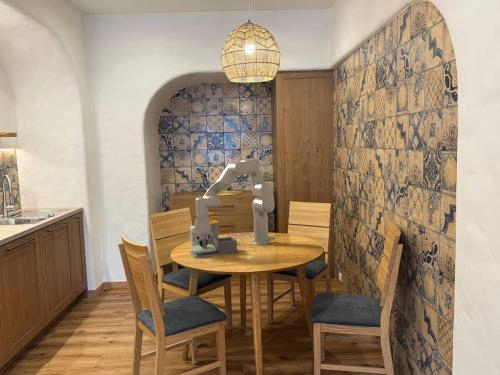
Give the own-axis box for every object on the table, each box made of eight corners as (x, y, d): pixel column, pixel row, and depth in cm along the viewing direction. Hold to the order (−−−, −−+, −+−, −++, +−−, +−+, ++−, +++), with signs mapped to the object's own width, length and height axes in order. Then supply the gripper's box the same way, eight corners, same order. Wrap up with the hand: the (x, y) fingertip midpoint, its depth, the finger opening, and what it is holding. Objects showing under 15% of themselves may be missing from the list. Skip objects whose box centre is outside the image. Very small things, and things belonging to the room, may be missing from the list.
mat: (212, 250, 274) (212, 249, 274) (217, 255, 260) (217, 254, 260) (190, 252, 269) (190, 251, 269) (194, 258, 256) (194, 256, 256)
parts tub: (231, 248, 277) (231, 236, 276) (236, 252, 265) (236, 240, 265) (213, 250, 273) (213, 238, 272) (218, 255, 262) (217, 242, 261)
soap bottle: (220, 244, 291) (218, 213, 289) (201, 245, 289) (199, 214, 287) (218, 239, 304) (217, 210, 302) (200, 241, 302) (199, 211, 300)
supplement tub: (207, 248, 280) (206, 226, 279) (194, 250, 275) (193, 228, 274) (201, 245, 288) (200, 224, 287) (188, 247, 283) (187, 226, 282)
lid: (211, 247, 273) (211, 236, 272) (216, 252, 261) (215, 240, 260) (191, 249, 269) (191, 238, 268) (195, 254, 257) (195, 242, 256)
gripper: (213, 215, 269) (214, 243, 270) (188, 217, 264) (189, 246, 265) (216, 217, 261) (217, 246, 263) (190, 219, 256) (192, 248, 258)
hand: (203, 245), depth 264 cm, fingers closed on lid
